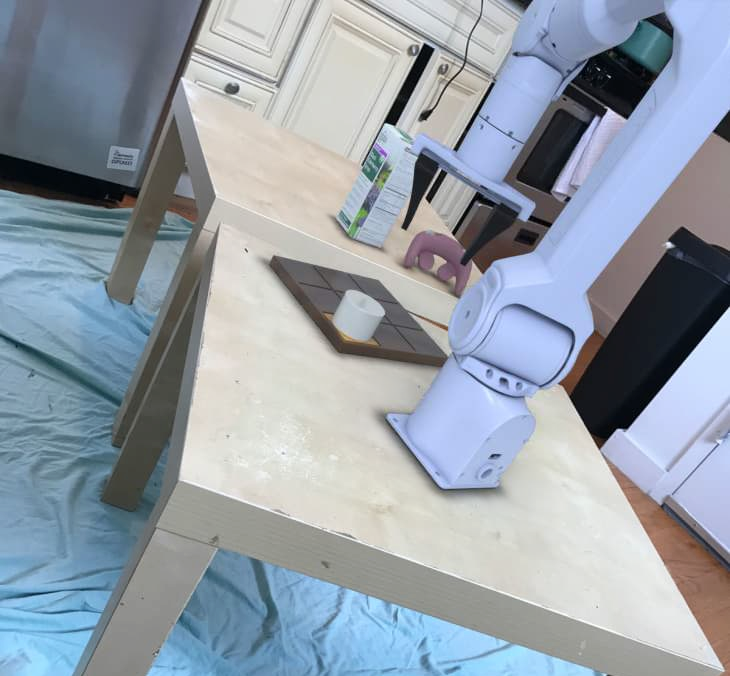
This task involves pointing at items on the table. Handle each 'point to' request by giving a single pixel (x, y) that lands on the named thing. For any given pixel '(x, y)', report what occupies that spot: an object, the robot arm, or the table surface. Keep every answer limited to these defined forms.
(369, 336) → the white squat cylinder
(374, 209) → the syrup box
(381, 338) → the board
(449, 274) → the video game controller
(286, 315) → the table surface
